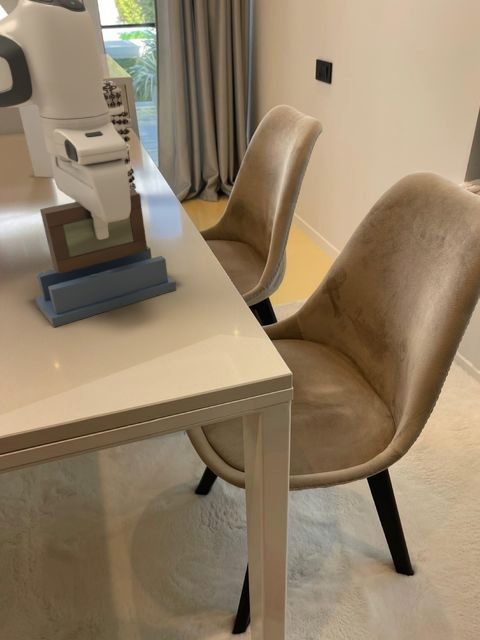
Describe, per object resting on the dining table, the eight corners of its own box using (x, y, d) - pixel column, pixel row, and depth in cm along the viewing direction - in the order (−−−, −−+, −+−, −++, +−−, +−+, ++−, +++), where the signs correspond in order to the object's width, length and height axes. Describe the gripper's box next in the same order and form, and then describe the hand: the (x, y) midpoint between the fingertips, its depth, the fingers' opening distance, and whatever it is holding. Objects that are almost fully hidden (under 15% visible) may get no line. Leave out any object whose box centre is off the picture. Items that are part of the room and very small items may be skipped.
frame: (147, 250, 87) (139, 193, 82) (59, 274, 81) (45, 213, 76) (140, 246, 89) (133, 190, 84) (53, 268, 82) (39, 209, 77)
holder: (176, 289, 90) (173, 258, 87) (53, 327, 81) (45, 293, 78) (154, 273, 96) (150, 242, 93) (36, 306, 86) (28, 274, 83)
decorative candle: (130, 209, 124) (112, 85, 110) (91, 206, 126) (69, 85, 112) (145, 196, 132) (130, 79, 118) (108, 194, 133) (90, 78, 120)
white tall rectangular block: (35, 180, 144) (4, 48, 128) (45, 174, 149) (16, 46, 132) (87, 181, 142) (63, 48, 126) (96, 175, 147) (73, 46, 131)
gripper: (32, 126, 81) (52, 219, 88) (83, 154, 67) (103, 261, 74) (74, 121, 84) (91, 211, 91) (132, 146, 70) (146, 250, 77)
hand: (97, 234), depth 83 cm, fingers closed on frame, 2 cm apart
